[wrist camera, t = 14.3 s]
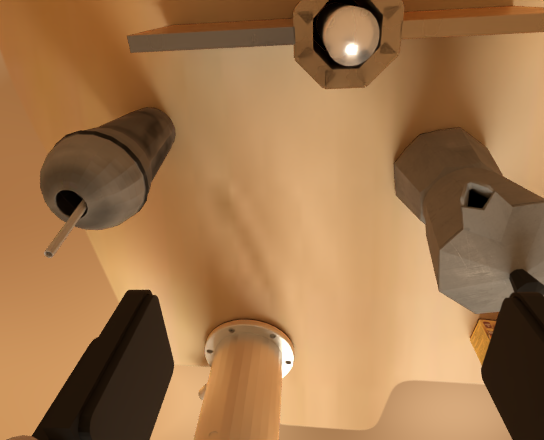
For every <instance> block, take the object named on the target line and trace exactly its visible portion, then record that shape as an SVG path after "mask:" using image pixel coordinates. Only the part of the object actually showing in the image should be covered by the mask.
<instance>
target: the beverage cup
mask: <svg viewBox="0 0 544 440" xmlns="http://www.w3.org/2000/svg"><path fill="white" fill-rule="evenodd" d="M174 139H175V127H174V125H173V123H172V121H171V120H170V118H169V117H168V116H167V115H166V114H165V113H163V112H162V111H160V110H158V109H155V108H143V109H140V110H137V111H134V112H131V113H129V114H127V115H125V116H122V117H120V118H118V119H115V120H113V121H111V122H109V123H106V124H104V125H102V126H100V127H97V128H93V129H89V130H85V131H77V132H74V133H71V134H68V135H65V136H64V137H63V138H62V139H61V140H60V141H59V142H57V143H56V145H55V146H54V148H53V149H52V150H51V151H50V152H49V154H48V155H47V157H46V159H45V162H44V164H43V166H42V169H41V172H40V188H41V191H42V194H43V197H44V200H45V202H46V204H47V205H48V207H49V208H50V210H51V211H52V212H53V213H54V214H55V215H56V216H57V217H59V218H60V219H61V220H63V221H64V222H66V223H65V225H64V226H63V227H62V229H61V230H60V231H59V233H58V234H57V235H56V237H55V238H54V240H53V241H52V242H51V244H50V245H49V246H48V248H47V249H46V250H45V252H44V255H45V256H46V257H49V258H50V257H53V256H54V255H55V253H56V252H57V250H58V249H59V247H60V246H61V245H62V243H63V242H64V240H65V239H66V237H67V236H68V234H69V233H70V232H71V230H72V229H73V227H74V226H75V227H78V228H82V229H88V230H102V229H106V228H110V227H114V226H117V225H119V224H121V223H123V222H124V221H126V220H127V219H128V218H130V217H132V216H133V215H134V214H136V213H137V212H139V211H140V210H141V208H142V207H143V205H144V204H145V202H146V201H147V196H148V193H149V189H150V186H151V182H152V180H153V178H154V177H155V175H156V173H157V171H158V170H159V168H160V166H161V164H162V163H163V161H164V159H165V157H166V156H167V154H168V152H169V151H170V149H171V146H172V144H173V142H174Z"/></svg>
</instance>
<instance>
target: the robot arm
mask: <svg viewBox="0 0 544 440" xmlns="http://www.w3.org/2000/svg"><path fill="white" fill-rule="evenodd" d="M204 352H205V357H206V360H207V362H208V364H209V365H210V366H211V370H210V374H209V379H208V383H207V384H205V385H204V386H203V387H202V388H201V389H200V390H199V397H200V399H202V400H203V403H202V407H201V411H200V415H199V419H198V423H197V428H196V432H195V435H194V440H279V425H280V406H281V388H282V377H284V376H285V375H286V374H287V373H288V372H289V371H290V370H291V368H292V366H293V363H294V347H293V345H292V342H291V341H290V339H289V338H288V337H287V336H286V335H285V334H284V333H283V332H282V331H281V330H279V329H277V328H276V327H274V326H272V325H270V324H267V323H264V322H261V321H256V320H235V321H230V322H227V323H224V324H222V325H220V326H218V327H217V328H215V329H214V330H213V331H212V332H211V333H210V334H209V336H208V338H207V341H206V344H205V348H204ZM173 369H174V361H173V356H172V352H171V348H170V344H169V340H168V336H167V332H166V328H165V324H164V320H163V316H162V312H161V308H160V304H159V299H158V297H157V296H156V295H152V292H151V291H150V290H128V291H127V292H126V293H125V295H124V297H123V298H122V300H121V302H120V303H119V305H118V307H117V308H116V310H115V311H114V313H113V315H112V316H111V318H110V319H109V321H108V323H107V324H106V326H105V327H104V329H103V331H102V332H101V334H100V335H99V337H98V338H96V339H94V340H93V341H92V342H91V344H90V345H89V346H88V348H87V350H86V351H85V353H84V354H83V356H82V357H81V359H80V361H79V362H78V364H77V365H76V367H75V368H74V370H73V372H72V373H71V375H70V376H69V378H68V379H67V381H66V383H65V384H64V386H63V388H62V389H61V391H60V392H59V394H58V395H57V397H56V399H55V400H54V402H53V403H52V405H51V406H50V408H49V410H48V411H47V413H46V414H45V416H44V418H43V419H42V421H41V422H40V424H39V425H38V427H37V429H36V430H35V432H34V433H33V435H32V436H25V435H22V436H17V437H12V438H10V439H7V440H150V437H151V434H152V431H153V428H154V425H155V422H156V420H157V417H158V414H159V411H160V408H161V405H162V403H163V400H164V397H165V394H166V391H167V388H168V385H169V383H170V380H171V377H172V374H173ZM481 374H482V379H483V381H484V383H485V385H486V387H487V389H488V391H489V393H490V395H491V397H492V399H493V401H494V403H495V405H496V407H497V409H498V411H499V413H500V415H501V417H502V419H503V421H504V423H505V425H506V427H507V429H508V431H509V433H510V435H511V437H512V439H513V440H544V296H543V295H542V294H541V293H538V292H513V293H512V294H510V296H509V298H505V299H504V300H503V302H502V305H501V309H500V312H499V315H498V318H497V321H496V324H495V327H494V330H493V333H492V336H491V339H490V342H489V345H488V349H487V352H486V355H485V358H484V361H483V364H482V368H481Z"/></svg>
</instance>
